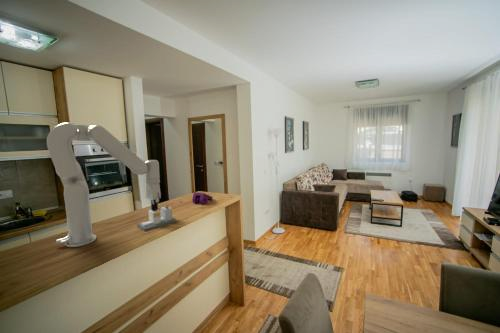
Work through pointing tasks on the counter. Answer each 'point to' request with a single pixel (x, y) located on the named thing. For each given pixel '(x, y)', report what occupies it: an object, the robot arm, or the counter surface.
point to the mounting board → (165, 219)
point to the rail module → (154, 216)
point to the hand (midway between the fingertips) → (154, 209)
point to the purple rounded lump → (200, 198)
